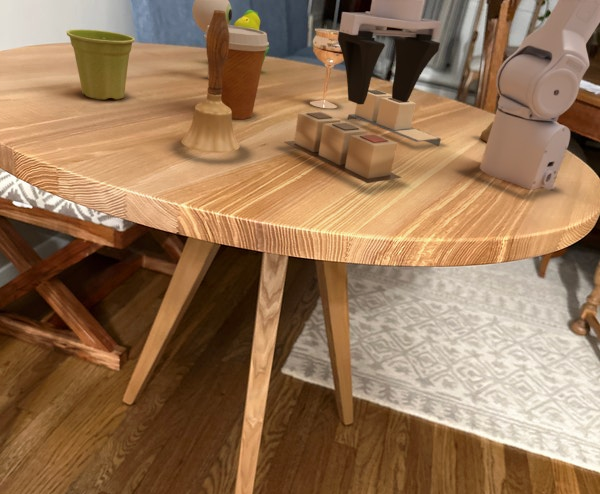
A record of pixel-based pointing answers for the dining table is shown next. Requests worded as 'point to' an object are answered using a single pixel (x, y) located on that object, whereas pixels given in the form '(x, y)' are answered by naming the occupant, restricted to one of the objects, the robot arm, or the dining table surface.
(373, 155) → the red-topped wooden cube
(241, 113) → the disposable coffee cup
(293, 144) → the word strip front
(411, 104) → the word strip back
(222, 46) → the hand bell
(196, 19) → the lollipop
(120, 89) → the plant pot
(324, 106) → the wineglass
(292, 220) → the dining table surface
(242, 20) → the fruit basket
